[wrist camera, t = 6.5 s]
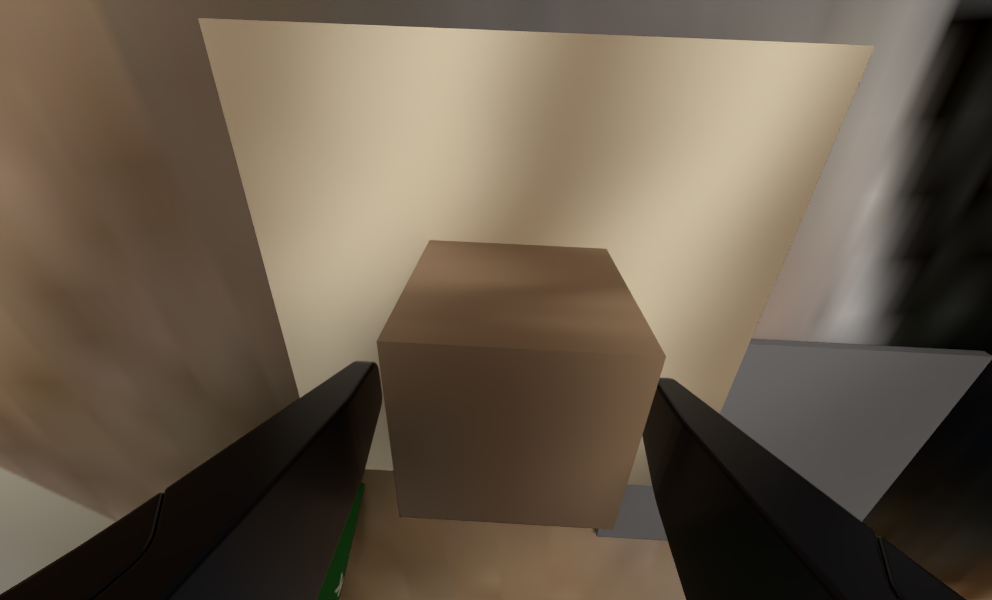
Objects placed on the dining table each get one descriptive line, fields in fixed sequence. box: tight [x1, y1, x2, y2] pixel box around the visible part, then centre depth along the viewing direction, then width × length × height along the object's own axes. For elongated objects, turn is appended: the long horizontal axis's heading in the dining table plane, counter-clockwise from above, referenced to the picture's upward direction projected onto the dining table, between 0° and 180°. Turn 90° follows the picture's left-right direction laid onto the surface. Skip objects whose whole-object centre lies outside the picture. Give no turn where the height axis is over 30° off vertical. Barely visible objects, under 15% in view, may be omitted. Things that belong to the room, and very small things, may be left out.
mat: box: [595, 339, 992, 541], centre depth 20 cm, size 14×14×1 cm
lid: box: [198, 18, 875, 530], centre depth 9 cm, size 12×12×5 cm
